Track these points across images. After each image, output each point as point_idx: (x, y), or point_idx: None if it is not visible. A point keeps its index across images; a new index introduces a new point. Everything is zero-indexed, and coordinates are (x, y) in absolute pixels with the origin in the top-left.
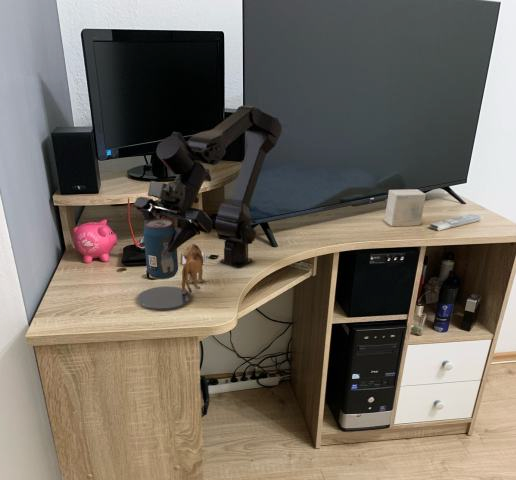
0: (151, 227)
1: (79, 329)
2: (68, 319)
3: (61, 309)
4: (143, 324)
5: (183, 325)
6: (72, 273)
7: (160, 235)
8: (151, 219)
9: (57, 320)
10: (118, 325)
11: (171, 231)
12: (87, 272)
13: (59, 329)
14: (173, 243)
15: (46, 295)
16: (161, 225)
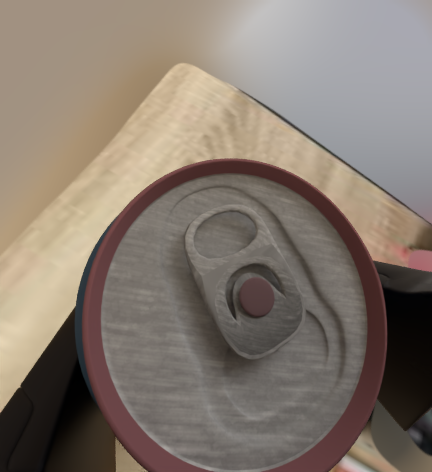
0: (189, 169)
1: (156, 107)
2: (203, 115)
3: (245, 127)
4: (88, 193)
5: (5, 259)
6: (371, 210)
7: (103, 233)
8: (417, 315)
9: (210, 104)
10: (122, 157)
11: (84, 368)
12: (368, 232)
13: (177, 89)
14: (60, 332)
15: (305, 139)
16: (218, 307)
